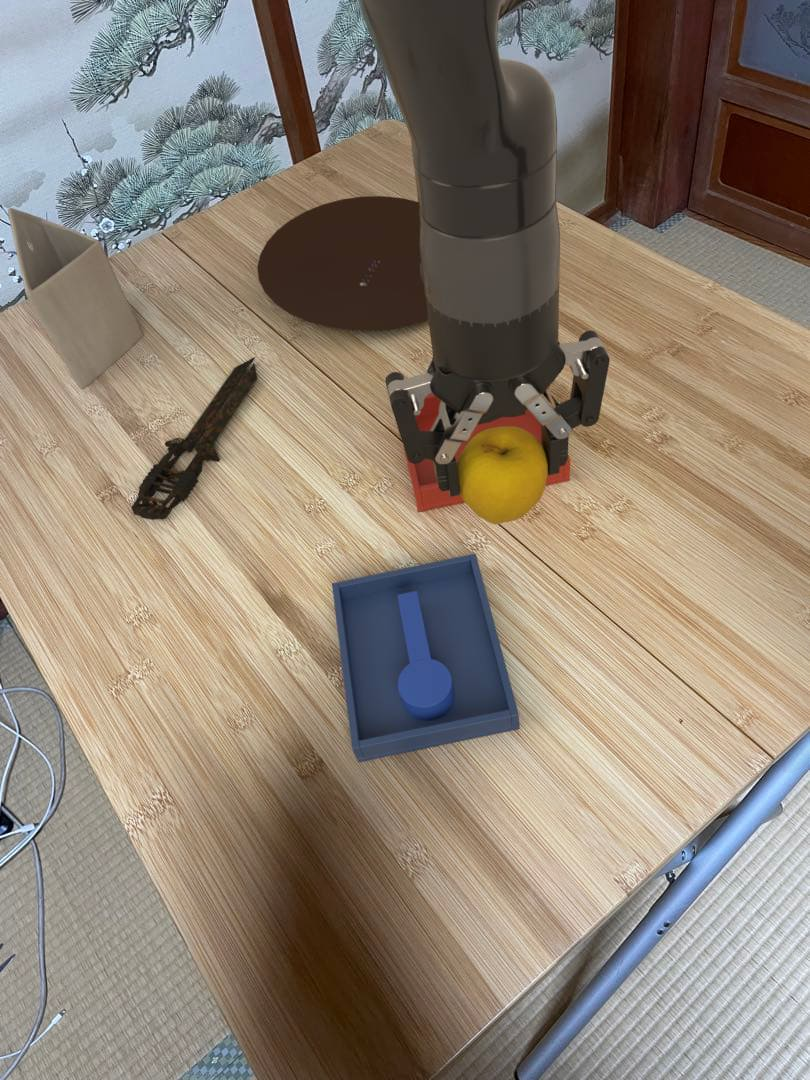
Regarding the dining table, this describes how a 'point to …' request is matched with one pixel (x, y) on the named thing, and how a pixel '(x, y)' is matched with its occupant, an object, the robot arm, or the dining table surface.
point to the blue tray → (454, 640)
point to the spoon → (422, 667)
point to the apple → (502, 473)
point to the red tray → (424, 473)
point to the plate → (349, 264)
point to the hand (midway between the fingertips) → (501, 476)
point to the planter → (74, 295)
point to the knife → (187, 445)
